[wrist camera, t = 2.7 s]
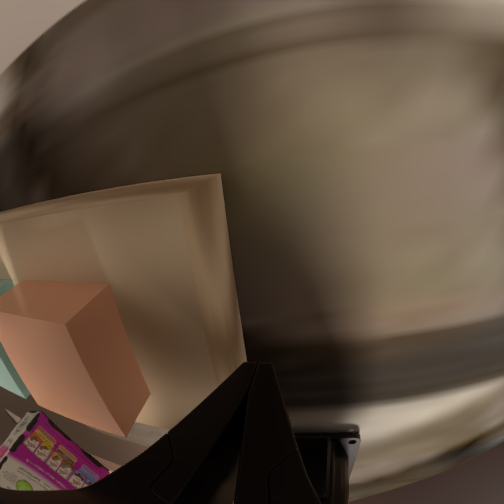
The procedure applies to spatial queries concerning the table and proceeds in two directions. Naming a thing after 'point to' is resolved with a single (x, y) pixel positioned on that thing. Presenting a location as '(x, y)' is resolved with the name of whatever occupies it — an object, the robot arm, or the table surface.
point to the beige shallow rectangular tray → (145, 277)
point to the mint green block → (3, 369)
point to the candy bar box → (45, 458)
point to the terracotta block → (73, 352)
